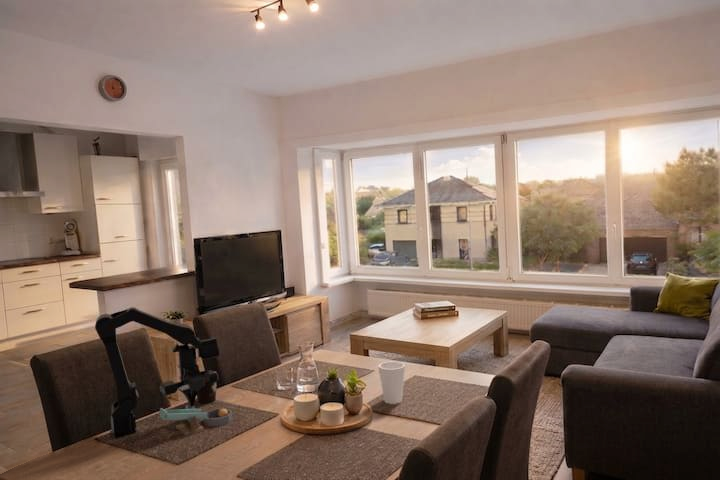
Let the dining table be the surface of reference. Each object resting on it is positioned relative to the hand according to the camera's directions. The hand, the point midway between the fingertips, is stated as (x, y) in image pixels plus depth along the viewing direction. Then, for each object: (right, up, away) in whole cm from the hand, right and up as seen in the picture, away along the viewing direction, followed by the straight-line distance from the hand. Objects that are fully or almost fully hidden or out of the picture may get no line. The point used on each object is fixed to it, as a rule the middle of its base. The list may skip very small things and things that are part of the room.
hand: (191, 406), depth 183 cm
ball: (+11, -2, -2) cm, 12 cm away
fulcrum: (0, -5, -11) cm, 12 cm away
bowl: (+10, -4, -3) cm, 11 cm away
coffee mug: (+1, -3, +17) cm, 18 cm away
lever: (-2, 0, -7) cm, 8 cm away
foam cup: (+70, -1, +7) cm, 70 cm away
